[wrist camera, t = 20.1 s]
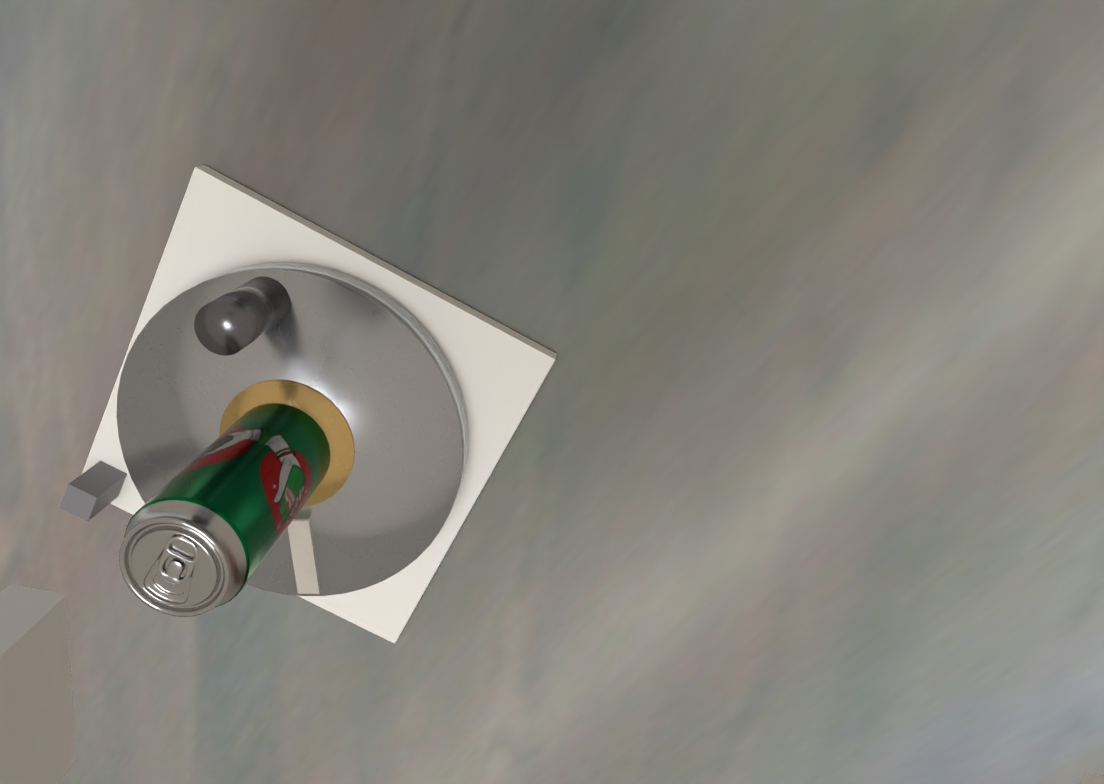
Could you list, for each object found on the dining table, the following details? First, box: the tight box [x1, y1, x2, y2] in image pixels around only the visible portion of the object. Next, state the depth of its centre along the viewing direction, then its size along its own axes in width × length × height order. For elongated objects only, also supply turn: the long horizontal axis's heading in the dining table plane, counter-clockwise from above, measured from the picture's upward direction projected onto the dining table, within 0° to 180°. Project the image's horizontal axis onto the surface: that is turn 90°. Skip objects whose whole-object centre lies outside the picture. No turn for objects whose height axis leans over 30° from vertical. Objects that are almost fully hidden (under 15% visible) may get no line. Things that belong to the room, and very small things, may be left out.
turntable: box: [116, 262, 469, 596], centre depth 44 cm, size 18×18×7 cm
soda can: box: [119, 403, 330, 617], centre depth 39 cm, size 5×5×12 cm
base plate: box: [60, 165, 557, 644], centre depth 47 cm, size 20×20×4 cm
